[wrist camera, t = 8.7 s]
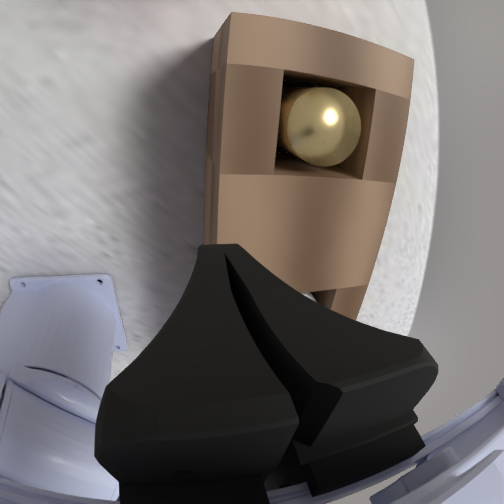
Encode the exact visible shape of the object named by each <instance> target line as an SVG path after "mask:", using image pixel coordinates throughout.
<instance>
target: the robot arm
mask: <svg viewBox="0 0 504 504" xmlns="http://www.w3.org/2000/svg"><path fill="white" fill-rule="evenodd" d="M98 279H100V280H102V282H99V281H98ZM22 282H23V283H25V285H24V284H23V283H22ZM9 285H10V287H11V290H12V292H11V294H10V295H9V297H8V299H7V301H6V302H5V304H4V306H3V308H2V310H1V312H0V504H326V503H329V502H332V501H335V500H337V499H340V498H343V497H346V496H348V495H351V494H353V493H356V492H359V491H361V490H364V489H366V488H368V487H371V486H373V485H375V484H377V483H379V482H382V481H384V480H386V479H388V478H390V477H392V476H394V475H396V474H398V473H400V472H402V471H404V470H406V469H408V468H410V467H412V466H414V465H415V464H417V463H418V464H417V465H416V468H415V469H414V470H411V471H410V472H408V473H406V474H405V475H403V476H401V477H400V478H399V479H398V480H397V481H395V482H394V483H392V484H391V485H389V486H388V487H386V488H385V489H383V490H381V491H379V492H377V493H376V494H374V495H373V496H371V497H370V501H371V503H372V504H504V378H503V379H502V380H501V382H500V383H499V384H498V385H497V386H496V389H495V390H493V391H492V392H491V393H489V394H488V395H487V396H485V397H484V398H482V399H481V400H479V401H478V402H477V403H475V404H474V405H473V406H471V407H469V408H468V409H466V410H465V411H463V412H462V413H460V414H459V415H457V416H455V417H454V418H452V419H451V420H449V421H447V422H446V423H444V424H442V425H441V426H439V427H437V428H435V429H434V430H432V431H430V432H428V433H426V434H425V435H423V436H420V435H419V433H418V431H417V430H416V428H415V426H414V424H415V423H416V422H417V421H418V417H417V415H416V414H415V412H414V411H413V409H414V407H415V406H416V405H417V404H418V403H419V401H420V400H421V399H422V397H423V396H424V395H425V394H426V393H427V392H428V390H429V389H430V387H431V386H432V385H433V383H434V381H435V379H436V377H437V374H438V364H437V363H436V362H435V360H434V359H433V357H432V356H431V355H430V353H429V352H428V351H427V350H426V348H425V347H424V346H423V344H422V343H421V342H420V341H419V339H415V338H411V337H407V336H403V335H399V334H395V333H391V332H387V331H384V330H381V329H378V328H375V327H372V326H369V325H366V324H363V323H360V322H358V321H355V320H353V319H350V318H348V317H346V316H343V315H341V314H339V313H337V312H335V311H333V310H330V309H328V308H326V307H324V306H322V305H320V304H319V303H317V302H315V301H313V300H312V299H310V298H308V297H306V296H305V295H303V294H301V293H300V292H298V291H297V290H295V289H294V288H292V287H291V286H289V285H288V284H286V283H285V282H284V281H282V280H281V279H279V278H278V277H277V276H275V275H274V274H273V273H272V272H270V271H269V270H268V269H267V268H265V267H264V266H263V265H262V264H261V263H259V262H258V261H257V260H256V259H255V258H254V257H253V256H251V255H250V254H249V253H248V252H247V251H246V250H245V249H244V248H242V247H241V246H240V245H239V244H238V243H235V244H210V245H200V246H199V247H198V257H197V261H196V265H195V268H194V270H193V273H192V276H191V279H190V281H189V283H188V285H187V287H186V289H185V291H184V294H183V296H182V298H181V299H180V301H179V303H178V305H177V306H176V308H175V310H174V311H173V313H172V314H171V316H170V317H169V319H168V320H167V322H166V323H165V324H164V326H163V327H162V329H161V330H160V331H159V333H158V334H157V335H156V336H155V338H154V339H153V340H152V341H151V342H150V343H149V344H148V346H147V347H146V348H145V349H144V350H143V351H142V352H141V353H140V355H139V356H138V357H137V358H136V359H135V360H134V361H133V362H132V363H131V364H130V365H129V366H128V367H127V368H125V369H124V370H123V371H122V372H121V373H120V374H119V375H118V376H117V377H116V378H114V379H113V380H112V381H111V382H110V376H111V365H112V356H113V351H126V350H127V349H128V342H127V338H126V335H125V331H124V327H123V323H122V319H121V315H120V311H119V307H118V302H117V298H116V293H115V289H114V284H113V279H112V277H111V276H110V275H109V274H88V275H65V276H40V277H13V278H11V280H10V281H9ZM118 346H119V347H118Z"/></svg>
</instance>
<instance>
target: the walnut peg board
mask: <svg viewBox="0 0 504 504" xmlns="http://www.w3.org/2000/svg"><path fill="white" fill-rule="evenodd" d="M413 68H414V59H412V58H410V57H407V56H405V55H403V54H400V53H398V52H396V51H393V50H391V49H388V48H385V47H383V46H380V45H377V44H375V43H372V42H369V41H366V40H363V39H360V38H357V37H354V36H351V35H347V34H344V33H341V32H337V31H334V30H330V29H326V28H322V27H318V26H314V25H310V24H306V23H301V22H296V21H291V20H286V19H281V18H275V17H269V16H262V15H255V14H247V13H237V12H231V13H230V15H229V16H228V18H227V19H226V20H225V22H224V23H223V25H222V26H221V27H220V29H219V30H218V32H217V33H216V35H215V36H214V40H213V51H212V63H211V75H210V89H209V105H208V123H207V143H206V169H205V209H204V245H210V244H235V243H238V244H239V245H240V246H241V247H242V248H244V249H245V250H246V251H247V252H248V253H249V254H250V255H251V256H253V257H254V258H255V259H256V260H257V261H258V262H259V263H261V264H262V265H263V266H264V267H265V268H267V269H268V270H269V271H270V272H272V273H273V274H274V275H275V276H277V277H278V278H279V279H281V280H282V281H284V282H285V283H286V284H288V285H289V286H291V287H292V288H294V289H295V290H297V291H298V292H300V293H305V292H311V294H312V295H313V297H314V298H315V300H316V302H317V303H319V304H320V305H322V306H324V307H326V308H328V309H330V310H333V311H335V312H337V313H339V314H341V315H343V316H346V317H348V318H350V319H353V320H355V321H356V318H357V316H358V313H359V310H360V307H361V304H362V302H363V299H364V296H365V293H366V290H367V287H368V284H369V281H370V278H371V275H372V271H373V268H374V265H375V262H376V259H377V255H378V252H379V248H380V245H381V241H382V238H383V234H384V231H385V227H386V223H387V219H388V215H389V211H390V207H391V203H392V199H393V195H394V190H395V186H396V181H397V176H398V172H399V167H400V162H401V156H402V151H403V145H404V140H405V134H406V127H407V121H408V114H409V106H410V98H411V89H412V80H413ZM283 80H286V81H293V82H300V83H306V84H312V85H318V86H323V87H327V88H333V89H336V90H339V91H341V92H343V93H344V94H346V95H347V96H348V97H349V98H350V99H351V100H352V101H353V103H354V104H355V106H356V108H357V110H358V112H359V115H360V120H361V133H360V138H359V141H358V144H357V146H356V148H355V149H354V151H353V152H352V153H351V154H350V155H349V156H348V157H347V158H346V159H345V160H344V161H342V162H340V163H338V164H336V165H333V166H327V167H321V166H315V165H312V164H310V163H308V162H306V161H304V160H302V159H301V158H299V157H297V156H295V155H293V154H290V153H276V146H277V136H278V126H279V115H280V105H281V94H282V84H283Z"/></svg>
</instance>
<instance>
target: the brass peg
mask: <svg viewBox="0 0 504 504" xmlns="http://www.w3.org/2000/svg"><path fill="white" fill-rule="evenodd" d="M360 133H361V120H360V115H359V112H358V110H357V108H356V106H355V104H354V103H353V101H352V100H351V99H350V98H349V97H348V96H347V95H346V94H344V93H343V92H341V91H339V90H336V89H333V88H327V87H291V88H282V94H281V105H280V115H279V126H278V136H277V146H278V147H280V148H282V149H284V150H286V151H288V152H290V153H291V154H293V155H295V156H297V157H299V158H301V159H302V160H304V161H306V162H308V163H310V164H312V165H315V166H321V167H327V166H333V165H336V164H338V163H340V162H342V161H344V160H345V159H346V158H347V157H348V156H349V155H350V154H351V153H352V152H353V151H354V149H355V148H356V146H357V144H358V141H359V138H360Z"/></svg>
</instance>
